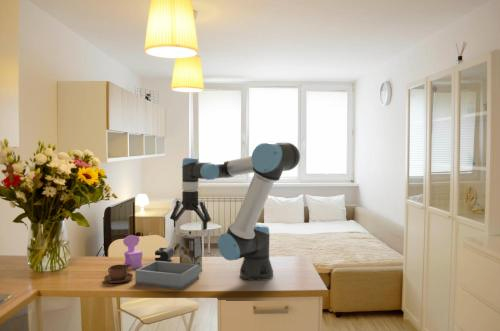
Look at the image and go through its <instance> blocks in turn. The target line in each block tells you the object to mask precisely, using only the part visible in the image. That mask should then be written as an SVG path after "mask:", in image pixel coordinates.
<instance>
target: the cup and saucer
mask: <svg viewBox="0 0 500 331" xmlns="http://www.w3.org/2000/svg"><path fill="white" fill-rule="evenodd" d="M107 272H108V274H106V275H104V277H103V279H104V281H105V282H107V283H110V284H120V283H125V282H129V281H130V280H131V279H133V275H134V274H132V273H130V272H128V265H124V264H115V265H114V264H113V265H111V266H109V267H108V270H107Z"/></svg>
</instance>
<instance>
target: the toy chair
mask: <svg viewBox="0 0 500 331" xmlns="http://www.w3.org/2000/svg"><path fill="white" fill-rule="evenodd" d="M139 242H140V238H139V236H137V235H134V234H130V235H127V236H126V237H125V238H123V240H122V243H123V244H124V246H125V247H127V250H125V251H123V252H124V253H123V254H124V258H125V260H124V263H123V265H127V266H130V268H129V270H136V269H139V268H141V267H143V264H142V259H143V251H140V250H139V249H135V247H137V246H138V244H139Z"/></svg>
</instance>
